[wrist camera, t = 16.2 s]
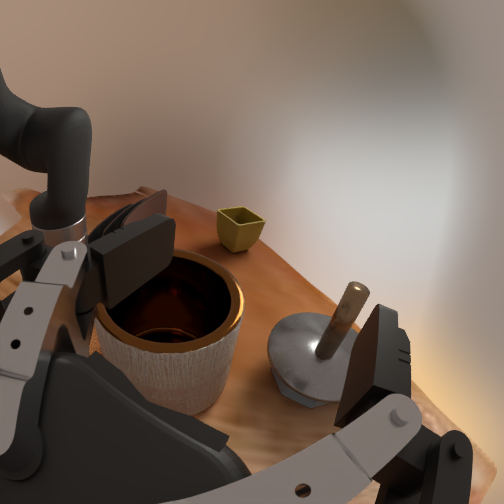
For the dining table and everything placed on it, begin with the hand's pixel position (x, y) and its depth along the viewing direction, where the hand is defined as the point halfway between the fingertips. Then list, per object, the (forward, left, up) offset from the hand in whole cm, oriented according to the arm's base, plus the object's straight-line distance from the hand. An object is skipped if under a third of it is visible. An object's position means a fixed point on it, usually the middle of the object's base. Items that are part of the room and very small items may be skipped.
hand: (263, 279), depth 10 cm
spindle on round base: (-12, +20, -24) cm, 34 cm away
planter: (-17, -2, -30) cm, 35 cm away
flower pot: (-52, +17, -30) cm, 62 cm away
